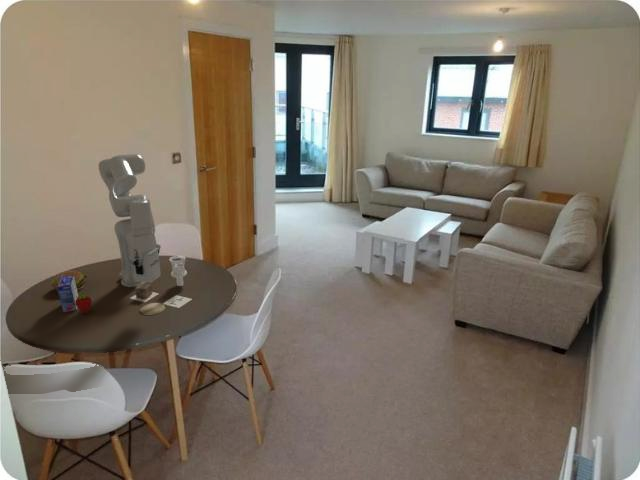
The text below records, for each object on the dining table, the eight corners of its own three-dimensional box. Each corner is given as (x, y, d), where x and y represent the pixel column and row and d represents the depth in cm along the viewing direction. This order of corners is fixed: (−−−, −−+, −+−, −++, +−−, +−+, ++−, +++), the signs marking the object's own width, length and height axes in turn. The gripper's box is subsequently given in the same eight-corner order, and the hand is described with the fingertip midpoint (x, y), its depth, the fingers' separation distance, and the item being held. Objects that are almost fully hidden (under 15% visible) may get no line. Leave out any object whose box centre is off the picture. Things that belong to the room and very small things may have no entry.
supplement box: (151, 283, 177) (148, 254, 173) (135, 281, 179) (131, 252, 174) (161, 275, 184) (158, 247, 180) (145, 273, 186) (142, 246, 181)
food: (46, 294, 198) (43, 279, 195) (65, 281, 211) (62, 266, 208) (75, 296, 197) (72, 280, 194) (93, 282, 210) (90, 267, 207)
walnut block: (136, 298, 196) (135, 288, 194) (142, 293, 200) (140, 283, 199) (146, 298, 195) (145, 288, 193) (152, 293, 200) (151, 284, 198)
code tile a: (162, 304, 191) (162, 303, 191) (176, 295, 199) (176, 295, 199) (179, 308, 188) (179, 307, 188) (192, 299, 196) (192, 298, 196)
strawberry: (77, 319, 178) (73, 297, 175) (77, 311, 184) (73, 290, 181) (94, 316, 181) (90, 294, 177) (93, 308, 187) (89, 287, 184)
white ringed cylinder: (182, 289, 205) (179, 260, 200) (169, 286, 207) (166, 257, 202) (190, 283, 211) (188, 254, 206) (178, 280, 213) (175, 252, 208)
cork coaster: (135, 312, 184) (134, 311, 184) (151, 302, 193) (151, 301, 193) (153, 317, 181) (153, 316, 180) (170, 306, 189) (169, 305, 189)
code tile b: (129, 298, 196) (129, 298, 195) (144, 290, 203) (144, 289, 203) (145, 302, 192) (145, 302, 192) (159, 294, 200) (159, 293, 200)
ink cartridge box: (65, 302, 192) (59, 272, 187) (79, 300, 193) (73, 270, 188) (62, 312, 183) (55, 281, 178) (76, 310, 185) (70, 279, 180)
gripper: (150, 223, 183) (155, 261, 189) (118, 235, 168) (124, 276, 174) (164, 225, 180) (169, 264, 186) (133, 238, 165) (139, 279, 171)
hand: (147, 270), depth 180 cm, fingers closed on supplement box, 8 cm apart
